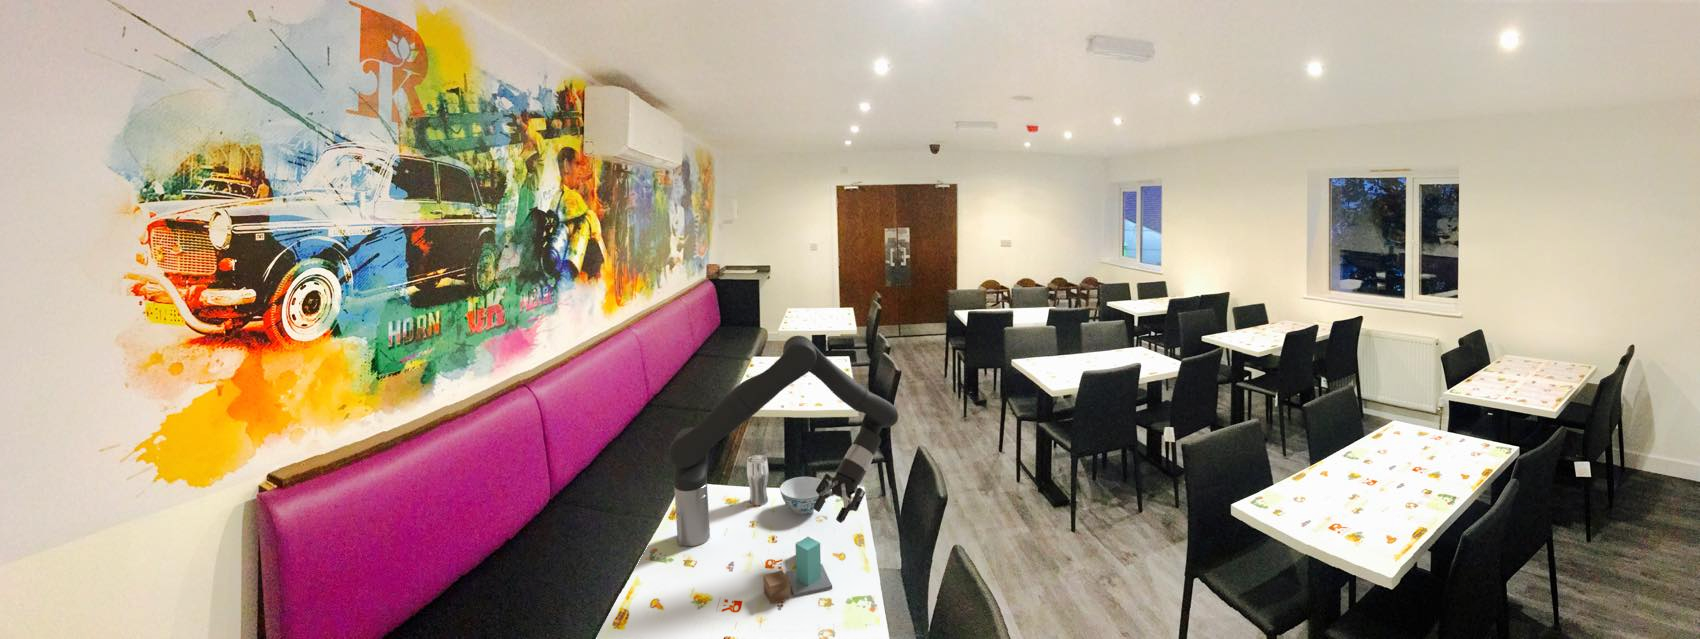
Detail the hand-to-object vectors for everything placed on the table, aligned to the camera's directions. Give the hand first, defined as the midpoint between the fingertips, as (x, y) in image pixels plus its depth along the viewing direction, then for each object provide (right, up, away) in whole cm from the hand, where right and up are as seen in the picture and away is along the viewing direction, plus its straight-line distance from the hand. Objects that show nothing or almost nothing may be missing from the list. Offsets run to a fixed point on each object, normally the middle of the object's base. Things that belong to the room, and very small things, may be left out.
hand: (827, 515), depth 163 cm
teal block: (-4, -14, -8) cm, 16 cm away
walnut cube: (-12, -16, -14) cm, 24 cm away
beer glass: (-24, -7, +34) cm, 42 cm away
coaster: (-5, -14, -8) cm, 17 cm away
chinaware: (-9, -8, +29) cm, 31 cm away
